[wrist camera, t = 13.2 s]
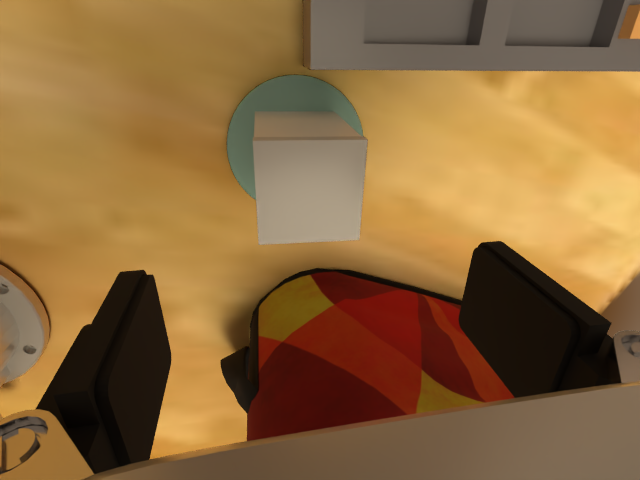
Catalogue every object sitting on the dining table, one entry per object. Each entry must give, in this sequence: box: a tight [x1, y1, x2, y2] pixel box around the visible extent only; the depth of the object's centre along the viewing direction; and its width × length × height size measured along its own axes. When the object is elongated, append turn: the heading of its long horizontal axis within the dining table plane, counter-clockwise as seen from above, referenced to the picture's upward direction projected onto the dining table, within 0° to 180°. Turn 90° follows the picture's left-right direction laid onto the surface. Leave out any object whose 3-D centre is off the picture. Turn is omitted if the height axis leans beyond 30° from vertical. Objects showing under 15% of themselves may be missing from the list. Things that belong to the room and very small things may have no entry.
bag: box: [221, 268, 515, 441], centre depth 28 cm, size 30×14×16 cm, turn 68°
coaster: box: [227, 75, 363, 200], centre depth 25 cm, size 9×9×1 cm
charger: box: [253, 111, 368, 245], centre depth 21 cm, size 5×5×8 cm
